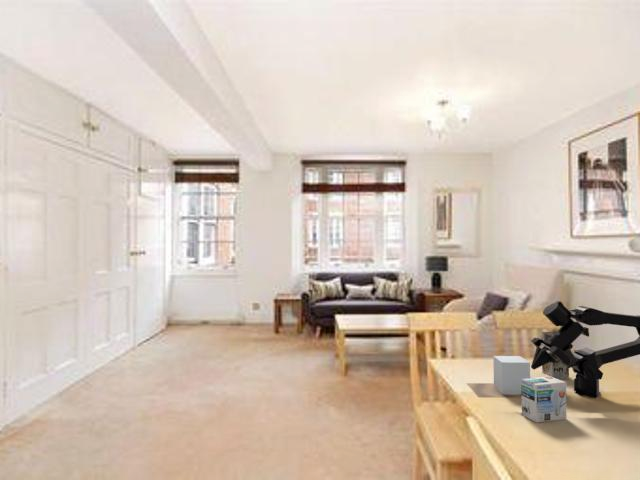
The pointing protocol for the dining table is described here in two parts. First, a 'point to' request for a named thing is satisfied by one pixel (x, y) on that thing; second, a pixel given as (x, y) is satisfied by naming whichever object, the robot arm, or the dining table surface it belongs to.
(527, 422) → the dining table surface
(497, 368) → the carton
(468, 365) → the dining table surface
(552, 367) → the coffee box
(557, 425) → the dining table surface
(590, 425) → the dining table surface
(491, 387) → the podium board
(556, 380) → the light bulb box
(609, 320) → the robot arm
